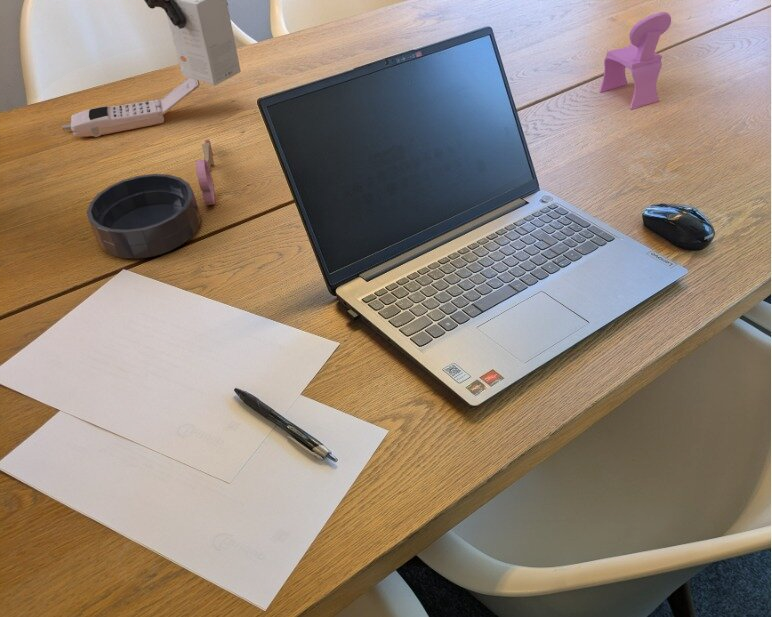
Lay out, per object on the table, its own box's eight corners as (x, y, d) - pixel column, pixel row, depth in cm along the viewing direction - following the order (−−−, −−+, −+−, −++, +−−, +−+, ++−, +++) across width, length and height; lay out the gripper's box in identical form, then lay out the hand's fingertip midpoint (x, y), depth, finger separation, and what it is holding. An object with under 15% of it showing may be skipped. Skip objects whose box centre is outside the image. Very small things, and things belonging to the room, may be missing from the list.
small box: (241, 72, 112) (226, -9, 103) (214, 86, 108) (196, 3, 99) (208, 62, 116) (190, -17, 107) (181, 76, 112) (160, -5, 103)
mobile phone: (200, 85, 116) (50, 112, 110) (208, 116, 120) (63, 144, 114) (196, 72, 120) (51, 98, 115) (203, 103, 124) (64, 129, 118)
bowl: (129, 276, 87) (117, 245, 84) (82, 232, 95) (69, 203, 91) (220, 228, 94) (212, 199, 90) (169, 191, 102) (160, 163, 98)
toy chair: (628, 81, 122) (646, -4, 112) (663, 99, 116) (685, 11, 106) (592, 92, 119) (607, 5, 109) (626, 111, 114) (645, 21, 103)
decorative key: (218, 162, 113) (214, 210, 96) (210, 163, 113) (205, 211, 96) (209, 123, 109) (203, 166, 93) (201, 124, 109) (194, 167, 93)
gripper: (106, -83, 96) (169, 18, 98) (191, -102, 103) (248, -7, 105) (102, -50, 103) (160, 44, 104) (182, -69, 110) (235, 19, 111)
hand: (204, 18), depth 105 cm, fingers closed on small box, 7 cm apart
